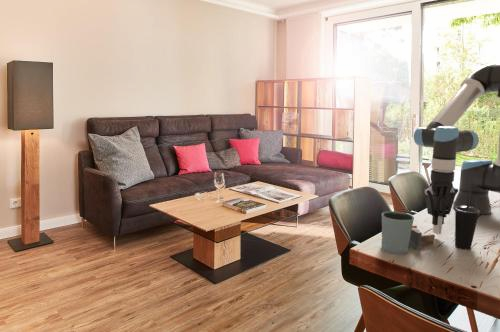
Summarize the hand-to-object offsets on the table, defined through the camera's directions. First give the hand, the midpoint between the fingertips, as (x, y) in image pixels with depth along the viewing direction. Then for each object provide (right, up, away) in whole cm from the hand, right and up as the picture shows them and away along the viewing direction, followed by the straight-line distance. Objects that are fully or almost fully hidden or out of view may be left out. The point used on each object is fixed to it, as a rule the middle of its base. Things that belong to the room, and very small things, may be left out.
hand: (436, 233), depth 146 cm
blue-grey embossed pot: (-19, -4, -10) cm, 22 cm away
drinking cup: (+5, -4, -8) cm, 10 cm away
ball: (-9, 0, -2) cm, 10 cm away
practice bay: (-9, -2, -3) cm, 10 cm away
